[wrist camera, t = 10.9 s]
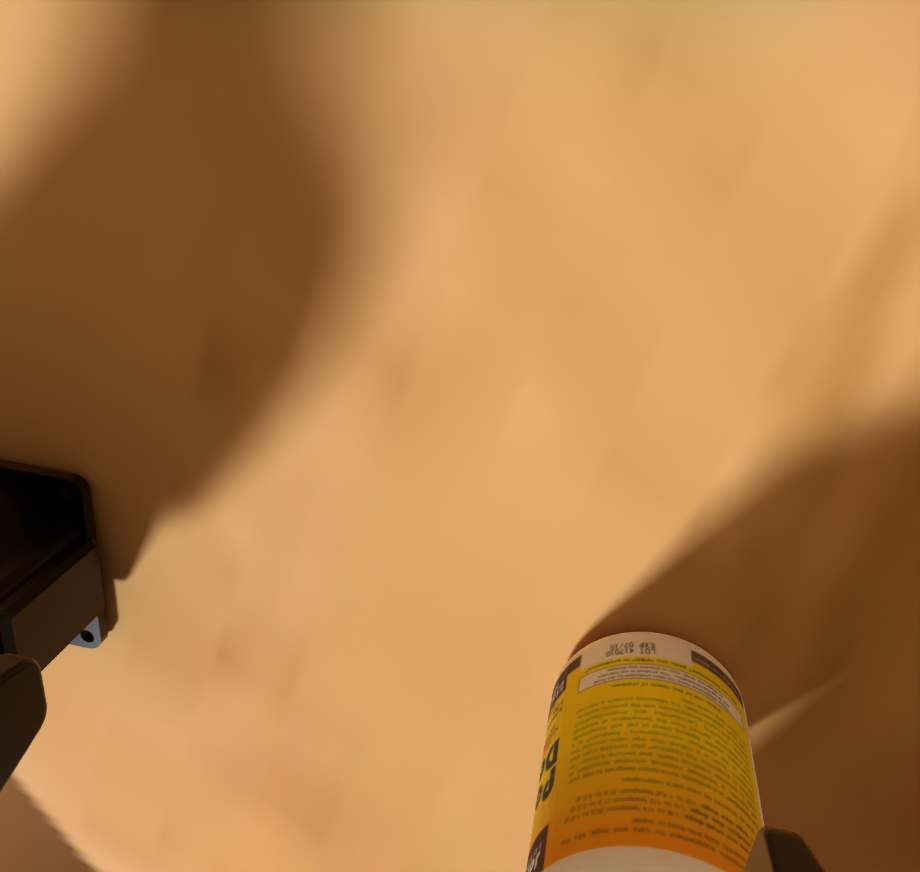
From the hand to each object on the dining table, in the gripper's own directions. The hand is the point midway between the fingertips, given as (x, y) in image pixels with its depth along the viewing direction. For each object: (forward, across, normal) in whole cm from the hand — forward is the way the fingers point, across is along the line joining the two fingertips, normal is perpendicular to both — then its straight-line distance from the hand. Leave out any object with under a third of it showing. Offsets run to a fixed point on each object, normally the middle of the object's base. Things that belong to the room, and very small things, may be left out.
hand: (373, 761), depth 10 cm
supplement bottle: (+13, -5, +9) cm, 16 cm away
